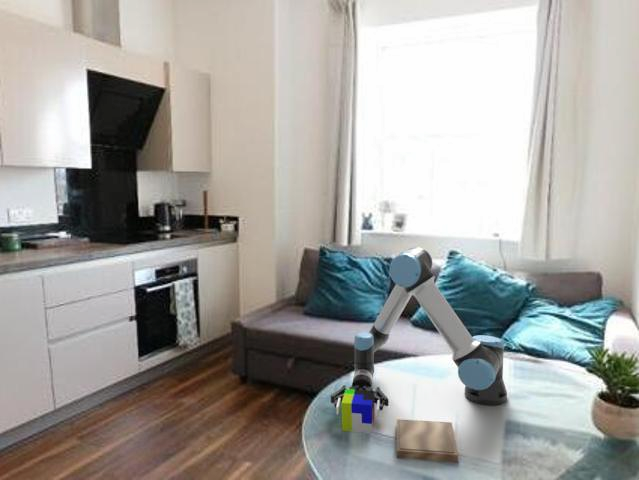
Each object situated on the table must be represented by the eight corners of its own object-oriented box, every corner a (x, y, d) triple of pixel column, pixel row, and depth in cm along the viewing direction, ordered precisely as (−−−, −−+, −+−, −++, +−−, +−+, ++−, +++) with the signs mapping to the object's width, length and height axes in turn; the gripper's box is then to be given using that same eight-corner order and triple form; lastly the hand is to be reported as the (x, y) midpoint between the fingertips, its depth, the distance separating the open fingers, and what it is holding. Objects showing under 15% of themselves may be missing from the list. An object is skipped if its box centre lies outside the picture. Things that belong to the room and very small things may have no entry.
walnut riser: (451, 429, 159) (451, 421, 158) (458, 462, 141) (458, 454, 141) (396, 426, 162) (396, 418, 161) (396, 458, 144) (396, 449, 144)
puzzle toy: (371, 433, 158) (371, 405, 157) (342, 430, 160) (341, 402, 159) (374, 417, 168) (374, 390, 166) (346, 415, 170) (345, 388, 168)
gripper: (395, 394, 179) (395, 424, 159) (330, 390, 183) (321, 420, 163) (395, 375, 178) (395, 403, 157) (329, 372, 182) (320, 399, 162)
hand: (357, 412), depth 160 cm, fingers open, 13 cm apart
